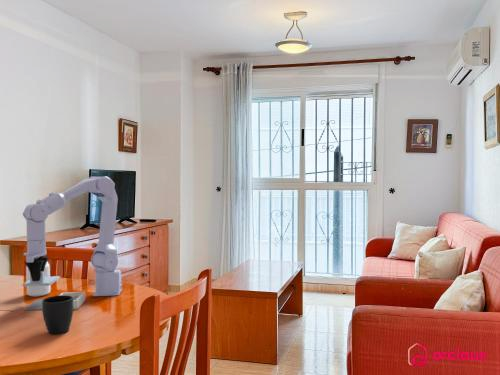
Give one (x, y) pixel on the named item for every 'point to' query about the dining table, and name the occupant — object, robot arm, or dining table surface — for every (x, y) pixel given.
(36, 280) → the robot arm
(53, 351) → the dining table surface
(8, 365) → the dining table surface
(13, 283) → the dining table surface
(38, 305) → the mat
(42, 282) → the lid
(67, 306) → the mug
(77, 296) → the tub
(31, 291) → the beverage can
